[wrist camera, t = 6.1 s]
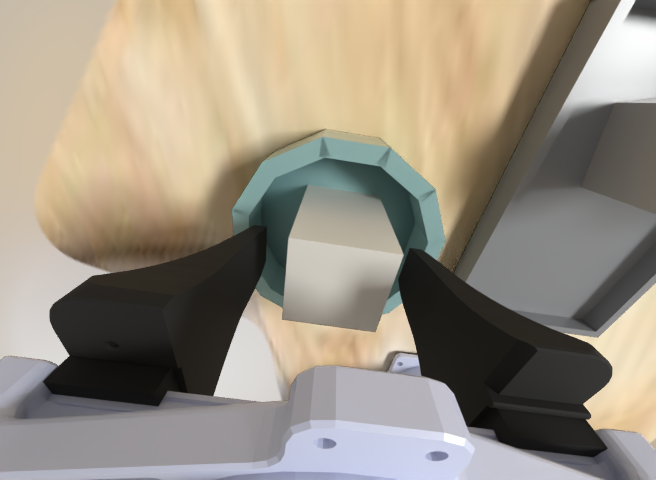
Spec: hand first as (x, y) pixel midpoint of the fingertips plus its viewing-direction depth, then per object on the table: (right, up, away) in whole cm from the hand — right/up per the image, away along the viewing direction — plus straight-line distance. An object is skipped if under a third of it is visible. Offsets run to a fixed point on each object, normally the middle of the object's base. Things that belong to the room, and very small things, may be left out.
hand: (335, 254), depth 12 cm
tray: (+14, +3, +2) cm, 15 cm away
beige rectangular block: (0, +2, +2) cm, 3 cm away
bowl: (0, +2, +3) cm, 3 cm away
